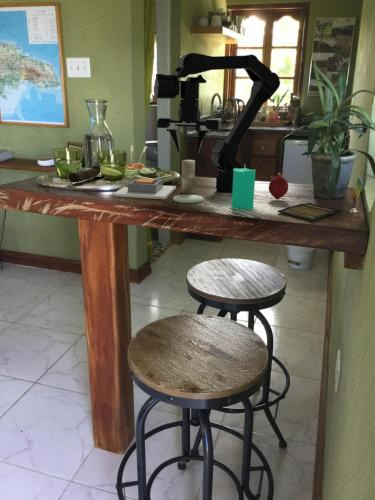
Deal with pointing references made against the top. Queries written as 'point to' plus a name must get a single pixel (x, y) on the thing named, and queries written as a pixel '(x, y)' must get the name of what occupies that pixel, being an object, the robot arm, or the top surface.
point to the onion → (278, 186)
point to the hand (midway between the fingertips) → (188, 152)
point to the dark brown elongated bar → (84, 174)
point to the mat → (188, 198)
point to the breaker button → (146, 181)
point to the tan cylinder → (188, 176)
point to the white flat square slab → (145, 190)
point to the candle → (243, 188)
